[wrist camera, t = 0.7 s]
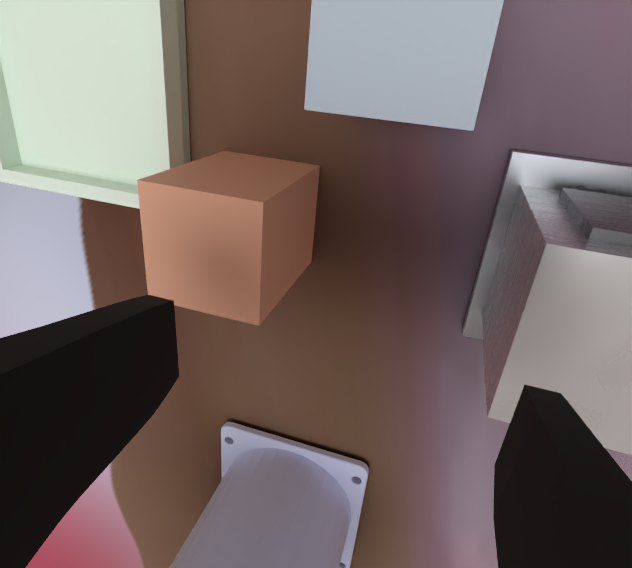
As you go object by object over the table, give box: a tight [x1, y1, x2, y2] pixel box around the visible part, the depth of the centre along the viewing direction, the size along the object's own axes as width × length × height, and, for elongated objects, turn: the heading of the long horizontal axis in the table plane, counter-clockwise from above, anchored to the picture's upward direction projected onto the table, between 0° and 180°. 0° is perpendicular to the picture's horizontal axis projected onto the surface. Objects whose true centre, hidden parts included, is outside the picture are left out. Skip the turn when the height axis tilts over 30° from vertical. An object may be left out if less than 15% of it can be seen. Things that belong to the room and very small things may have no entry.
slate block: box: [304, 0, 504, 131], centre depth 12 cm, size 4×4×6 cm
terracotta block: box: [137, 151, 320, 326], centre depth 16 cm, size 4×4×6 cm
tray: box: [0, 0, 191, 209], centre depth 18 cm, size 9×9×2 cm
